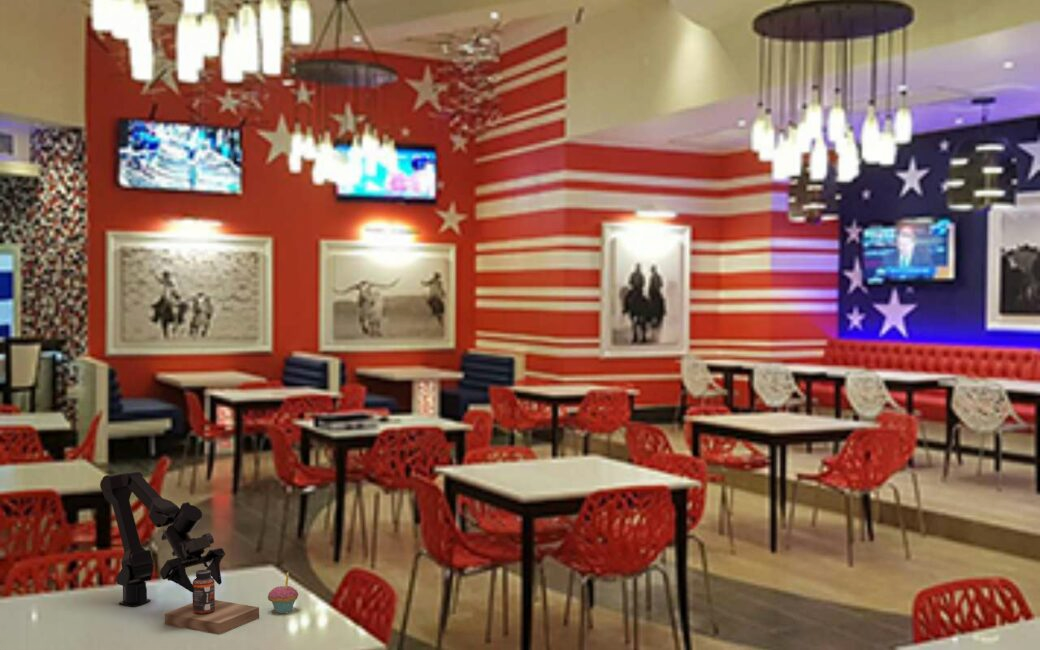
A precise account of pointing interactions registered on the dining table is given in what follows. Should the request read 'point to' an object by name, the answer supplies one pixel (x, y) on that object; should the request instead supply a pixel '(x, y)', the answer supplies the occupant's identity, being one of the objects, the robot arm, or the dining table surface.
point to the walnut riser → (212, 617)
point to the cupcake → (283, 597)
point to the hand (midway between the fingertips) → (207, 587)
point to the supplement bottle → (203, 592)
